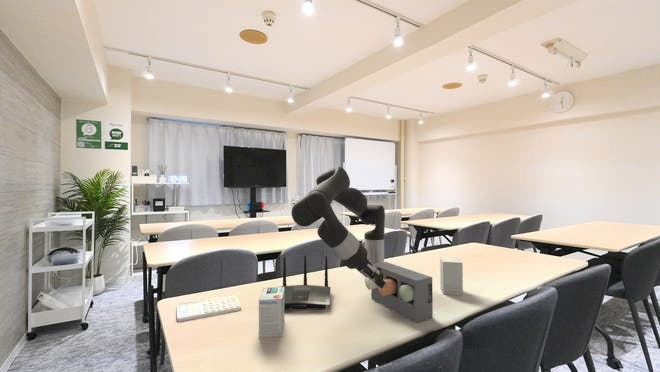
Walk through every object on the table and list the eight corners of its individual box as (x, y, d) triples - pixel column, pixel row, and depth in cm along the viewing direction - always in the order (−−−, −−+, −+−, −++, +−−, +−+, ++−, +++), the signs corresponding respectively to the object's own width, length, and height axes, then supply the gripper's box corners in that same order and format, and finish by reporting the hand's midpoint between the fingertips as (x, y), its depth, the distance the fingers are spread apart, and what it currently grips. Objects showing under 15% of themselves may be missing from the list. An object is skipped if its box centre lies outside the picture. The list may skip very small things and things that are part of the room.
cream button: (375, 284, 112) (375, 271, 112) (384, 288, 108) (384, 274, 108) (364, 287, 110) (364, 273, 110) (373, 291, 105) (373, 276, 105)
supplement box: (463, 295, 116) (463, 262, 116) (442, 294, 117) (442, 261, 117) (459, 289, 123) (458, 258, 123) (439, 288, 125) (439, 257, 125)
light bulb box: (263, 321, 95) (263, 287, 95) (285, 320, 95) (284, 286, 96) (258, 338, 84) (258, 299, 84) (282, 337, 85) (282, 298, 85)
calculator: (242, 311, 104) (241, 305, 104) (176, 323, 95) (176, 317, 95) (235, 298, 116) (235, 293, 116) (176, 308, 107) (176, 303, 107)
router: (268, 311, 103) (267, 268, 103) (279, 291, 123) (279, 255, 123) (329, 312, 102) (329, 268, 102) (330, 291, 122) (330, 255, 123)
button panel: (386, 295, 116) (385, 261, 116) (432, 318, 96) (432, 277, 96) (371, 299, 113) (371, 264, 113) (416, 322, 93) (416, 280, 93)
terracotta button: (389, 290, 106) (388, 276, 106) (398, 295, 101) (398, 280, 101) (377, 293, 103) (377, 278, 103) (387, 298, 99) (386, 282, 99)
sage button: (410, 296, 101) (410, 281, 101) (422, 301, 96) (421, 285, 96) (399, 298, 98) (399, 283, 98) (410, 304, 94) (410, 287, 94)
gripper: (328, 254, 90) (362, 289, 96) (352, 264, 79) (390, 302, 84) (343, 235, 93) (376, 270, 99) (369, 241, 81) (404, 281, 87)
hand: (382, 285), depth 92 cm, fingers closed
